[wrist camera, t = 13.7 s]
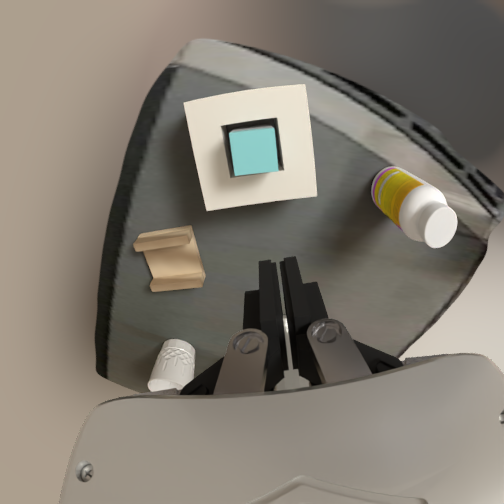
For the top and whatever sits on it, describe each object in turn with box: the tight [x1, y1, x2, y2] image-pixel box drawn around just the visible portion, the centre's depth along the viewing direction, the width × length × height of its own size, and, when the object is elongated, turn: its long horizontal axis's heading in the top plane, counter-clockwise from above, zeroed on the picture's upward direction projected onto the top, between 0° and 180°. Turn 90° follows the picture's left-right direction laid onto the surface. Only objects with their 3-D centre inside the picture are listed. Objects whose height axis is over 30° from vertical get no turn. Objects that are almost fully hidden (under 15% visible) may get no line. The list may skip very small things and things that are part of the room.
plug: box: [229, 124, 279, 176], centre depth 27 cm, size 4×4×8 cm
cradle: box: [133, 225, 206, 292], centre depth 38 cm, size 8×8×3 cm
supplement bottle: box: [371, 166, 457, 248], centre depth 28 cm, size 7×7×13 cm
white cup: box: [148, 339, 195, 392], centre depth 46 cm, size 8×8×10 cm
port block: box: [184, 84, 317, 211], centre depth 28 cm, size 12×12×6 cm
